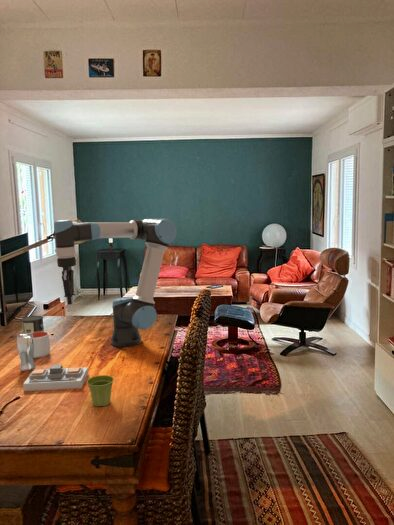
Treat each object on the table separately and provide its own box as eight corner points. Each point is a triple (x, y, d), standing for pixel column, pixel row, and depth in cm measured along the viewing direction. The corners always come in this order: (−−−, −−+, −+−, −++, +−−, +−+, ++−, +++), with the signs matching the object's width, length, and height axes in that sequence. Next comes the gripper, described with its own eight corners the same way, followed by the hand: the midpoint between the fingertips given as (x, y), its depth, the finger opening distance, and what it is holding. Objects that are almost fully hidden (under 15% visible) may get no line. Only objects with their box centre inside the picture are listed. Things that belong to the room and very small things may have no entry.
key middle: (62, 368, 181) (62, 364, 181) (60, 372, 177) (59, 368, 177) (52, 368, 181) (52, 364, 181) (50, 372, 177) (49, 368, 177)
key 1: (45, 372, 181) (45, 369, 181) (42, 376, 177) (42, 372, 177) (35, 373, 181) (35, 369, 181) (32, 377, 177) (32, 373, 177)
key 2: (80, 371, 182) (80, 367, 181) (78, 374, 178) (78, 371, 178) (70, 371, 181) (70, 367, 181) (68, 375, 178) (67, 371, 177)
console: (88, 374, 187) (87, 363, 187) (81, 388, 173) (80, 377, 173) (34, 376, 186) (34, 366, 185) (23, 391, 172) (22, 380, 172)
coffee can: (44, 340, 234) (42, 314, 232) (45, 346, 225) (43, 319, 223) (24, 343, 231) (21, 316, 229) (23, 349, 221) (21, 321, 219)
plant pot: (103, 395, 167) (102, 372, 165) (120, 401, 161) (119, 378, 159) (83, 404, 159) (81, 381, 158) (99, 411, 154) (98, 387, 152)
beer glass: (20, 372, 191) (17, 339, 189) (18, 367, 197) (15, 334, 195) (37, 369, 194) (34, 336, 192) (35, 364, 200) (32, 332, 198)
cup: (43, 359, 207) (41, 338, 205) (23, 358, 209) (21, 337, 207) (54, 351, 216) (52, 332, 215) (35, 351, 218) (33, 331, 217)
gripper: (60, 255, 194) (65, 307, 198) (53, 259, 181) (58, 315, 185) (77, 254, 195) (82, 306, 199) (72, 258, 182) (77, 314, 186)
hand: (71, 311), depth 192 cm, fingers closed
